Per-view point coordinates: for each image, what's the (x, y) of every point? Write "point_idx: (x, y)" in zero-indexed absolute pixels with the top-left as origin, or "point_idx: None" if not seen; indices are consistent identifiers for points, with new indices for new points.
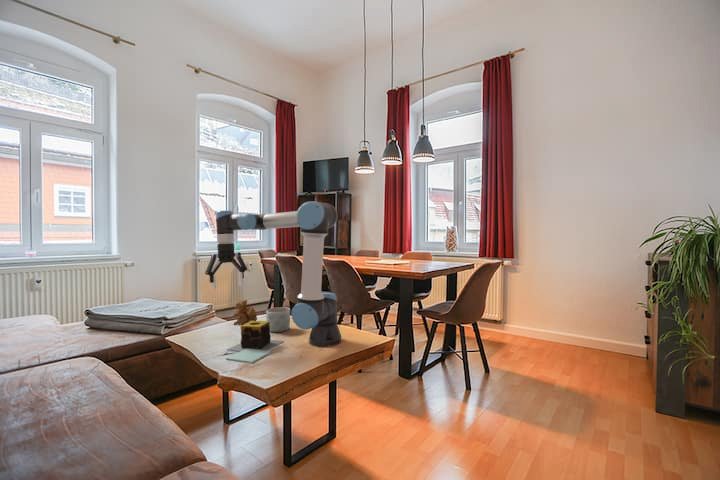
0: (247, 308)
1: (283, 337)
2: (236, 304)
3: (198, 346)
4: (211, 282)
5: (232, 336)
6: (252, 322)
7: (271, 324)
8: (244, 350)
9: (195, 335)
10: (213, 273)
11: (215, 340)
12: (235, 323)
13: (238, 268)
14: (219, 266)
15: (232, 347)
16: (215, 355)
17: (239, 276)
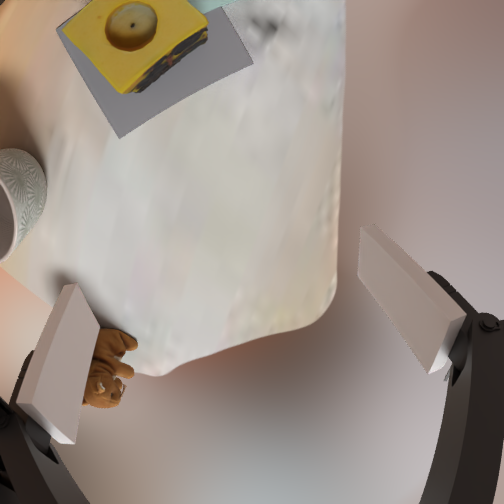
0: None
1: (35, 81)
2: (118, 399)
3: (309, 178)
4: (433, 273)
5: (175, 214)
6: (129, 54)
7: (30, 169)
8: (213, 1)
9: (271, 303)
10: (486, 337)
11: (241, 206)
12: (133, 341)
13: (54, 474)
14: (462, 464)
15: (229, 68)
16: (303, 41)
17: (67, 383)
